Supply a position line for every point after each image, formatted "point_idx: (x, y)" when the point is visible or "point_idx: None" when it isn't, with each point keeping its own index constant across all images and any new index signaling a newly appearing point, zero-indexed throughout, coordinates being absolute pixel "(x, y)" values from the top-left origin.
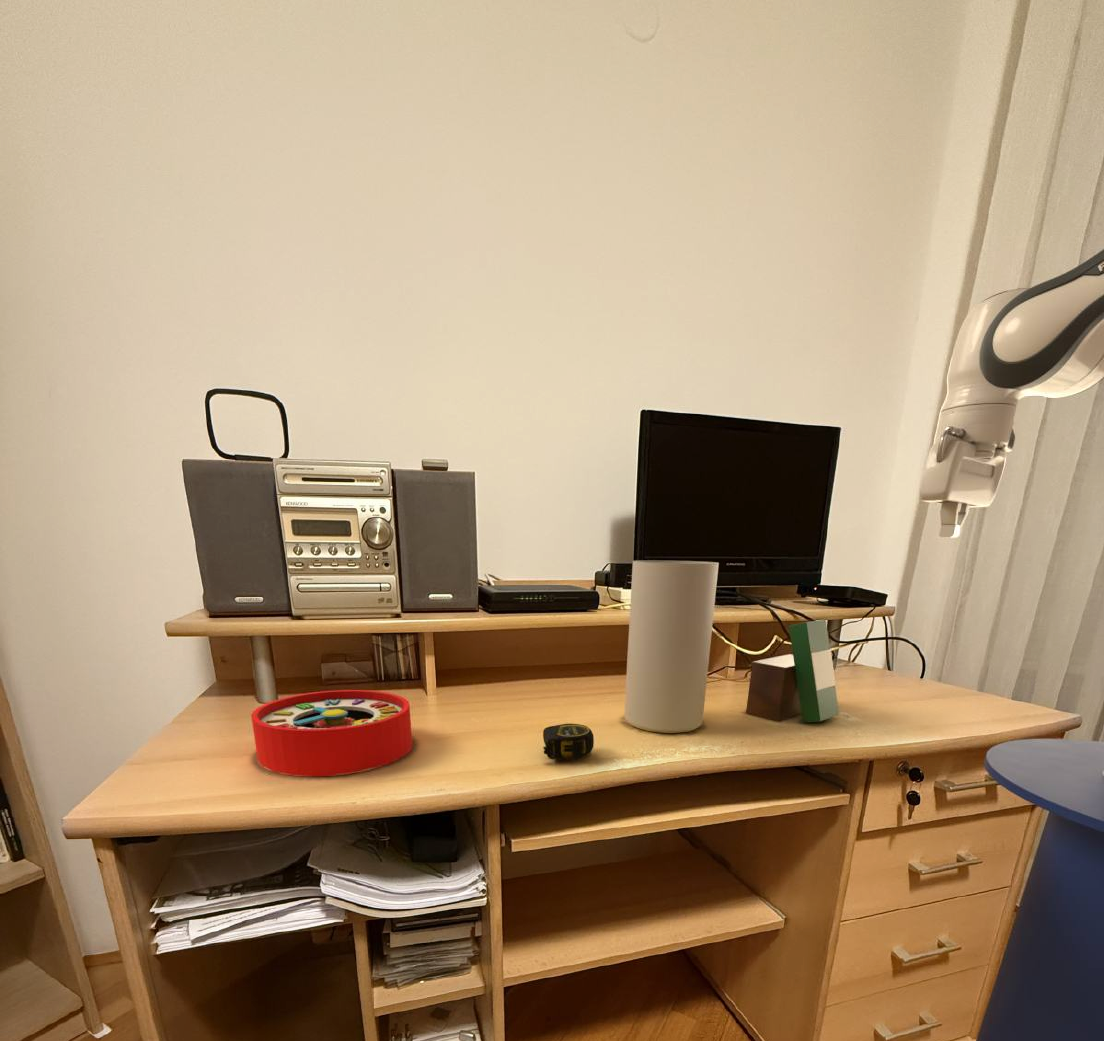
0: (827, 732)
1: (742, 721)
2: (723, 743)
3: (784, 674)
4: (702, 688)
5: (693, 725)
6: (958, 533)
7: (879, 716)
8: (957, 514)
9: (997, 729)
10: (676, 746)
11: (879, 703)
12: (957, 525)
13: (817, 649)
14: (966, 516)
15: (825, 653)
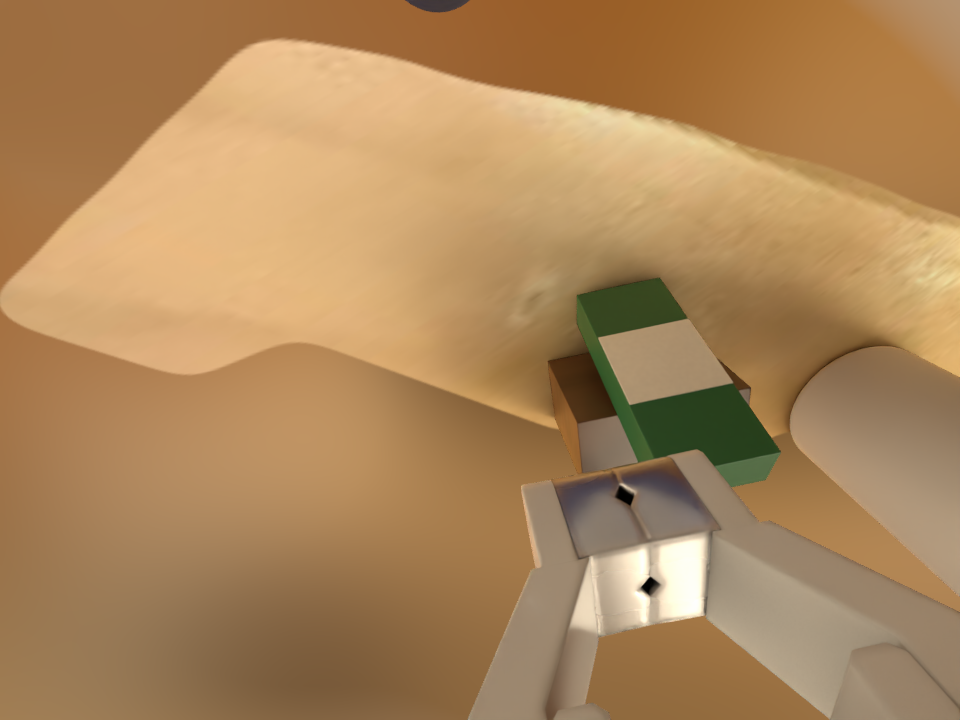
0: (677, 241)
1: (738, 357)
2: (884, 279)
3: (741, 379)
4: (917, 386)
5: (876, 348)
6: (563, 491)
7: (466, 270)
8: (871, 602)
9: (290, 59)
10: (951, 300)
11: (361, 338)
12: (675, 529)
13: (700, 395)
14: (490, 670)
15: (657, 391)
